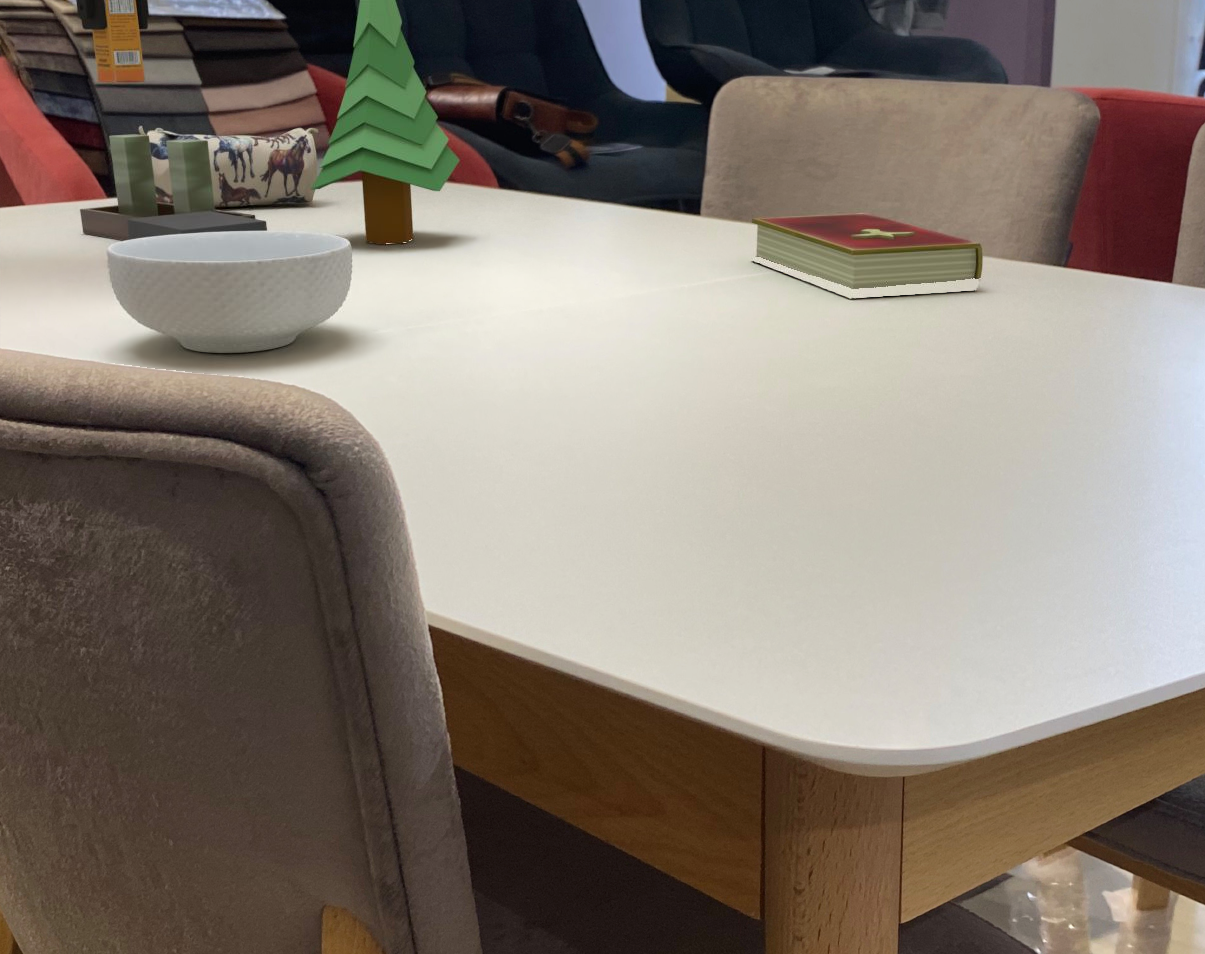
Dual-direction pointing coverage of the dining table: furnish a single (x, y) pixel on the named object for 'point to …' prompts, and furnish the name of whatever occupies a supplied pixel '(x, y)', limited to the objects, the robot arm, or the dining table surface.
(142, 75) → the supplement box
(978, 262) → the hardcover book
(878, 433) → the dining table surface
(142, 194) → the book rack
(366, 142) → the decorative tree
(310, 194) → the pencil case
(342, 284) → the cereal bowl
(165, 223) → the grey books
